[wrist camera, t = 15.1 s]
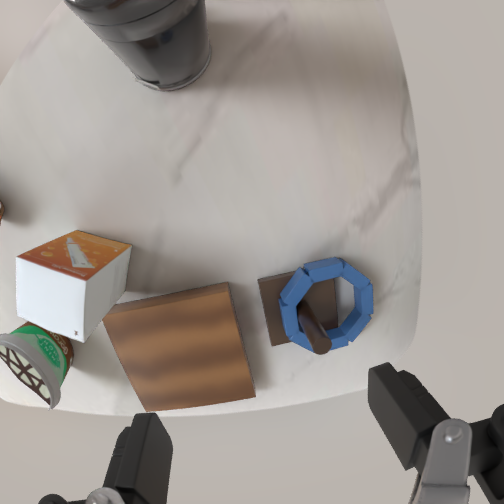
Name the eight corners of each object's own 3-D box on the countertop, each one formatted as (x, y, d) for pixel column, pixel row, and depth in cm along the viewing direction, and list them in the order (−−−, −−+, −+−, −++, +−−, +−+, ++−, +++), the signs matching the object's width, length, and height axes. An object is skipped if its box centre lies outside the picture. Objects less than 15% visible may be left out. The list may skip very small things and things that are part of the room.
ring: (273, 270, 35) (276, 277, 33) (362, 250, 35) (370, 255, 33) (287, 350, 38) (290, 360, 35) (366, 329, 38) (373, 337, 36)
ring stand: (257, 279, 36) (269, 317, 26) (329, 262, 36) (363, 293, 27) (270, 341, 39) (283, 391, 29) (335, 325, 39) (365, 368, 29)
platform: (108, 305, 36) (100, 315, 33) (227, 281, 36) (228, 290, 33) (149, 398, 40) (146, 411, 37) (254, 383, 40) (256, 397, 37)
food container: (95, 352, 37) (69, 395, 27) (77, 372, 38) (51, 413, 28) (35, 292, 34) (-4, 322, 24) (20, 316, 35) (-15, 348, 25)
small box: (133, 243, 34) (88, 280, 21) (125, 292, 35) (85, 345, 23) (75, 228, 33) (14, 255, 20) (70, 275, 34) (16, 317, 21)
